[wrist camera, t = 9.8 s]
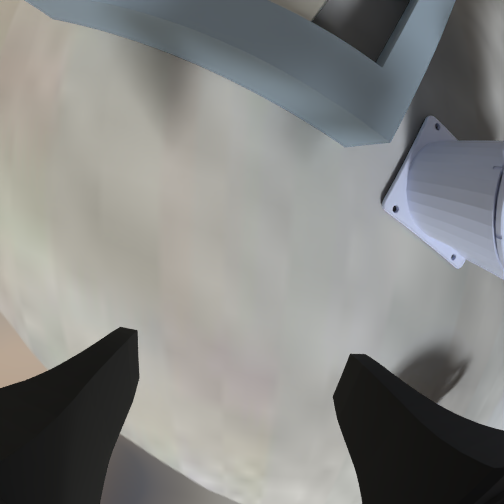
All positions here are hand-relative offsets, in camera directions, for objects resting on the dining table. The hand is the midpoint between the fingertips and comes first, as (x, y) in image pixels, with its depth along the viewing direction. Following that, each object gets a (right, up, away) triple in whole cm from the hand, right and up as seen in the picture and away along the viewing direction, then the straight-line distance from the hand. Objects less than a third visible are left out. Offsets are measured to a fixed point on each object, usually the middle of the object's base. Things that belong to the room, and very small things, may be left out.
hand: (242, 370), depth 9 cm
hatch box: (0, +24, +4) cm, 24 cm away
